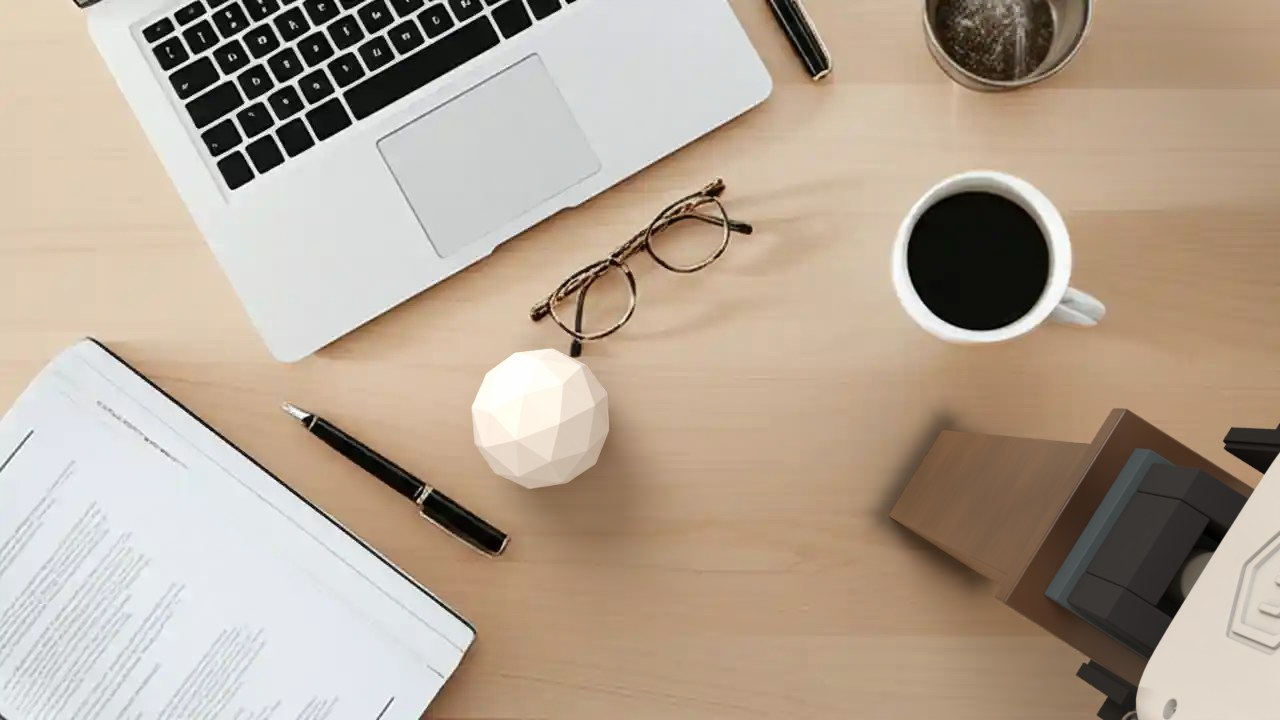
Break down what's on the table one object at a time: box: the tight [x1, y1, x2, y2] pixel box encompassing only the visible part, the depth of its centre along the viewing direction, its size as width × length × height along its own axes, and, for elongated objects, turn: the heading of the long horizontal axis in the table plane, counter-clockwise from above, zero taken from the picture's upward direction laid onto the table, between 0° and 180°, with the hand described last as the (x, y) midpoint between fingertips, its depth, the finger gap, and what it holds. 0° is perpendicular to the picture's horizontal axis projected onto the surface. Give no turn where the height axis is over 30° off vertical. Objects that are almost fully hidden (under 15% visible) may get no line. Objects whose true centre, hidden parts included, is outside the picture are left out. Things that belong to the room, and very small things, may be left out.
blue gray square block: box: [1044, 448, 1220, 661], centre depth 38 cm, size 6×6×4 cm
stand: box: [888, 407, 1255, 688], centre depth 54 cm, size 8×8×28 cm
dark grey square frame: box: [1067, 463, 1248, 655], centre depth 37 cm, size 6×6×3 cm
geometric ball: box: [471, 347, 610, 490], centre depth 65 cm, size 8×8×8 cm
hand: (1192, 576), depth 37 cm, fingers open, 8 cm apart
